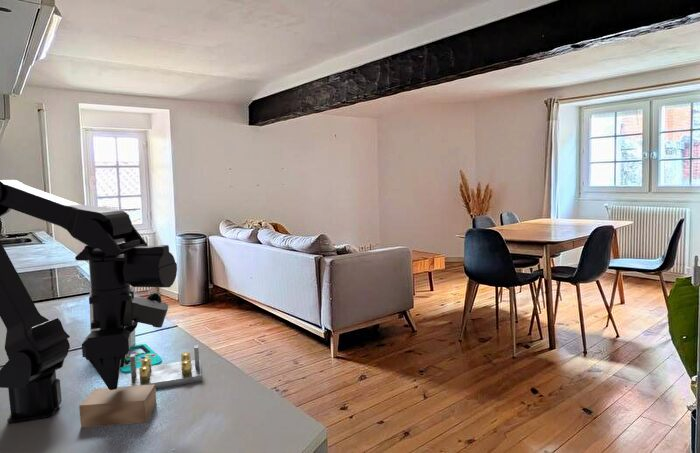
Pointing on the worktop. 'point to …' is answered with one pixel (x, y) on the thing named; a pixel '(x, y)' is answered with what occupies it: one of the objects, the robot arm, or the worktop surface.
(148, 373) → the chassis
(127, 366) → the handheld gaming console
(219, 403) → the worktop surface
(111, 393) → the tan block
